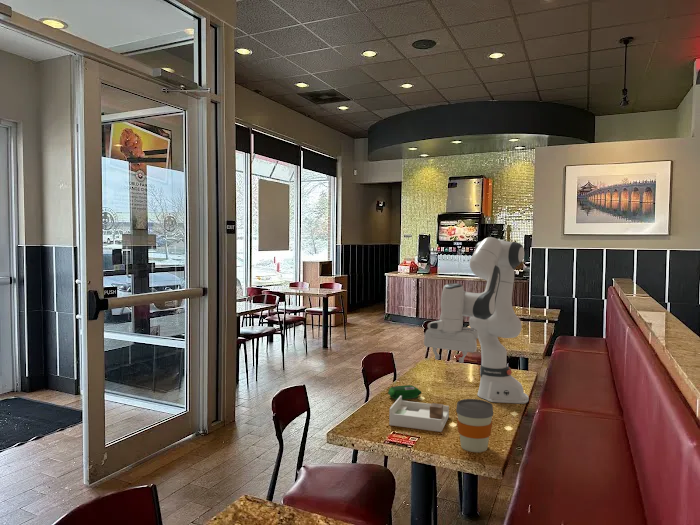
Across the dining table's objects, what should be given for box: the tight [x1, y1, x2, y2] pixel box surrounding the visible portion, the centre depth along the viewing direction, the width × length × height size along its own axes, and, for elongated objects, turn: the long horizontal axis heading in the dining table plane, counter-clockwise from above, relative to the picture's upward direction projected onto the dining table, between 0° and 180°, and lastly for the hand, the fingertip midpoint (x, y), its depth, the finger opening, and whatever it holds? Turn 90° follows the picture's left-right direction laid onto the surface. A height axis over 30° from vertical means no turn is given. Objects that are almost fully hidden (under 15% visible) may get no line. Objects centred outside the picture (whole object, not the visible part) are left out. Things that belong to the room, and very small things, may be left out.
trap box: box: [388, 396, 450, 433], centre depth 203 cm, size 20×17×6 cm
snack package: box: [387, 384, 422, 401], centre depth 233 cm, size 7×16×5 cm, turn 104°
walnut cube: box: [430, 402, 444, 419], centre depth 201 cm, size 4×4×4 cm
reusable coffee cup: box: [455, 398, 494, 453], centre depth 178 cm, size 13×13×15 cm
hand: (449, 360), depth 199 cm, fingers open, 8 cm apart
